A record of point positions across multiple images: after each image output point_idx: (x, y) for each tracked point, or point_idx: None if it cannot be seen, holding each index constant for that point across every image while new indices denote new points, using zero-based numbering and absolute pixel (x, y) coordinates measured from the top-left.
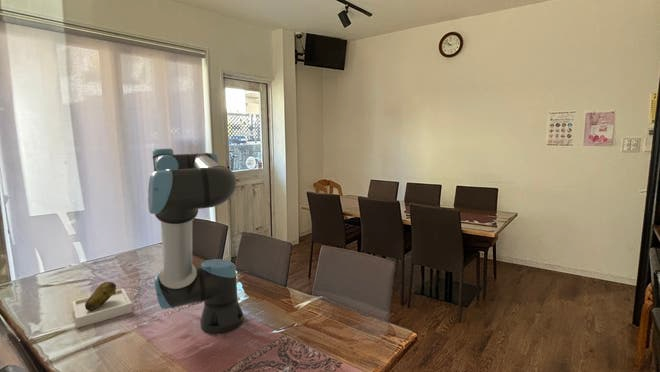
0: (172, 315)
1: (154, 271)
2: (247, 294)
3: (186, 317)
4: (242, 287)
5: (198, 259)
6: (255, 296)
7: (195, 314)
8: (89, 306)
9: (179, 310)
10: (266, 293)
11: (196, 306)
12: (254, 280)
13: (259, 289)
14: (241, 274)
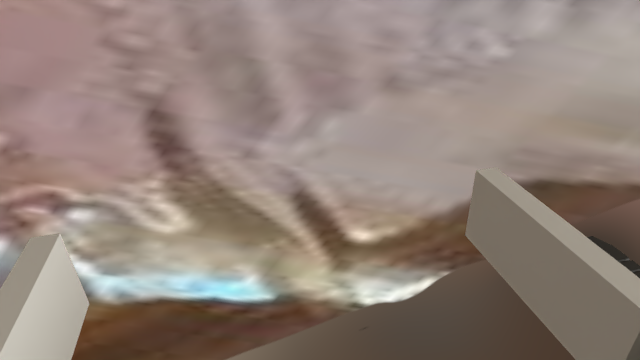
0: (66, 3)
1: (635, 32)
2: (134, 301)
3: (9, 58)
4: (211, 297)
5: (594, 211)
6: (99, 320)
7: (27, 101)
8: None
9: (111, 45)
10: (107, 351)
11: (118, 121)
12: (250, 337)
13: (157, 339)
14: (334, 312)
